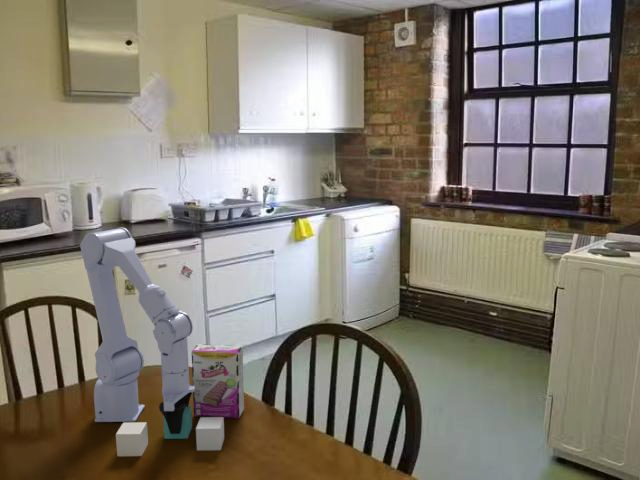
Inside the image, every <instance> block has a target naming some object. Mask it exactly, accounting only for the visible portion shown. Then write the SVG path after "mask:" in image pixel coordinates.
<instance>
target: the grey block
mask: <svg viewBox="0 0 640 480" xmlns="http://www.w3.org/2000/svg"><path fill="white" fill-rule="evenodd" d="M224 420H225V418H224V417H200V418H199V420H198V423H197V425H196V427H195V437H196V438H195V439H196V451H221V450H222V447H223V443H224V441H225V421H224Z"/></svg>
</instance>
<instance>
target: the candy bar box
mask: <svg viewBox="0 0 640 480" xmlns="http://www.w3.org/2000/svg"><path fill="white" fill-rule="evenodd" d="M243 349H244V348H243V345H221V344H206V343H205V344H200V343H198V344H196V345H195V347H194V348H193V349H192V350H191V366H192V367H191V368H192V369H191V371H192V377H191V378H192V386H195V391H194V392H192V399H193V401H192V402H193V417H224V419H225V418H226V419H227V418H228V419H240V418H241V416H242V414H243V412H244V410H245V400H244V398H245V397H244V396H245V395H244V393H245V392H244V354H243V353H244V351H243Z"/></svg>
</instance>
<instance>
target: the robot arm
mask: <svg viewBox="0 0 640 480" xmlns="http://www.w3.org/2000/svg"><path fill="white" fill-rule="evenodd" d="M79 248H80V250H81V254H82V260H83V263H84V268H85V270H86V274H87V277H88V281H89V287H90V291H91V296H92V300H93V304H94V309H95V312H96V317H97V321H98V325H99V331H100V334H101V339H102V342H101V344H100V345H99V347H98V348H97V349H96V350H95V353H94V357H95V373H96V376H97V378H98V379H97V380H96V382H95V385H94V388H93V401H94V402H93V403H94V412H95V413H94V414H95V415H94V416H95V418H94V422H95V423H114V422H115V423H117V422H119V423H121V422H123V423H129V422H136V421H137V420H138V418H139V417H140V415H141V413H142V411H143V410H144V408H145V404H139V388H138V386H139V385H138V377H139V376H140V371H141V370H142V369H143V367H144V365H145V360H144V355H143V353H142V351H141V350H140V348H139V344H138V341H137V340H136V339H134V338H132V337H130V336H128V335H127V331H126V327H125V322H124V317H123V312H122V309H121V305H120V300H119V295H118V291H117V285H116V282H115V278H114V274H113V271H114V268H115V267H118V268H119V269H120V270H121V272H123V274H124V275H125V276H126V278H127V279H128V280H129V282H131V284H132V286H134V288H135V289H136V290H137V292H138V293H139V294H138V303H139V304H140V306H141V307H142V309H143V310H144V312H145V313H146V315H147V317H148V319H149V320H150V322H151V323H152V324H153V325H154V329H152V332H153V337H154V339H155V340H156V342H157V347H158V348H157V349H158V351H159V352H160V360H161V361H160V362H161V363H160V364H161V378H162V379H161V381H162V382H161V383H162V388H161V392H162V397H163V401H162V402H160V404H159V405H158V409H159V411H160V413H161V414H162V416H163V417H165V419H166V422H167V425H168V428H169V431H170V434H180V432H181V427H182V418H183V413H184V409H185V407H189V404H190V401H191V397H192V395H193V392H194V391H195V386H193V385H191V384H190V373H189V372H190V370H189V369H190V368H189V346H188V343H189V342H188V337H189V336H191V334H192V332H193V330H194V329H193V322H192V319H191V318H190V315H189V314H187V313H186V312H184V311H182V310H180V308H177V307H176V306H175V305H174V303H173V302H172V301H171V299H170V297H169V295H167V293H166V291H165V290H164V288H163V287H162V286H160V285H156V284H154V283H153V281H152V279H151V278H150V276H149V274H148V273H147V271H146V269H145V267H144V265H143V263H142V261H141V259H140V258H139V256H138V254H137V253H136V240H135V239H134V238H133V236H132V234H131V231H129V230H128V229H127V228H126V227H121V226H120V227H117V228H113V229H109V230H108V229H107V230H103V231H97V232H88V233H86V234H85V235H84V236H83V238H82V241H81V243H79Z"/></svg>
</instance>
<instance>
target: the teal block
mask: <svg viewBox="0 0 640 480" xmlns="http://www.w3.org/2000/svg"><path fill="white" fill-rule="evenodd" d="M192 415H193V414H192V406H188V407H185V409H184V413H183V418H182V427H181V432H180V434H170V431H169V428H168V425H167V422H166V419H165V417H164V416H163V417H162V418H163V432H164V435H163V436H164V437H163V438H164V439H166V440H167V439H168V440H169V439H171V440H173V439H175V440H176V439H189V436H190V433H191V431H192V429H193V420H192V419H193V418H192V417H193V416H192Z"/></svg>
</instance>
